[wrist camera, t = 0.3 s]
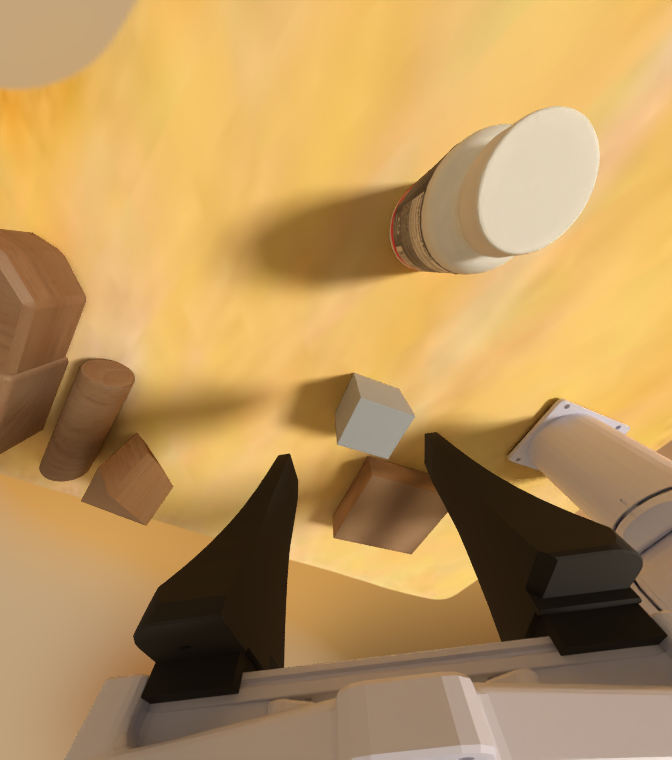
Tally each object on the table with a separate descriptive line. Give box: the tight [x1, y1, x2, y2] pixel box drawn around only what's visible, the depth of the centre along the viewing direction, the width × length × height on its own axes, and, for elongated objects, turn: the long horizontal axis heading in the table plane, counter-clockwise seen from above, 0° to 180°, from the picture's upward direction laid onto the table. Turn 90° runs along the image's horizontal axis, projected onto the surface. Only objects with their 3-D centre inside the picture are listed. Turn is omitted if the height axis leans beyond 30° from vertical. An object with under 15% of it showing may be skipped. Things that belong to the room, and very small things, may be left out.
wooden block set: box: [0, 229, 173, 525], centre depth 19 cm, size 17×6×18 cm
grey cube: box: [335, 373, 415, 459], centre depth 21 cm, size 4×4×4 cm
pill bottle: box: [389, 106, 599, 274], centre depth 12 cm, size 5×5×10 cm
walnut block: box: [333, 456, 448, 554], centre depth 27 cm, size 10×10×3 cm
